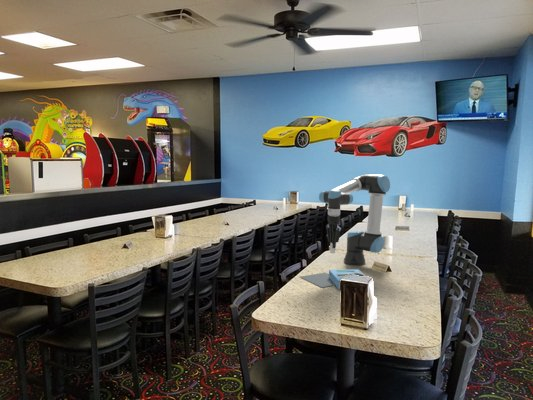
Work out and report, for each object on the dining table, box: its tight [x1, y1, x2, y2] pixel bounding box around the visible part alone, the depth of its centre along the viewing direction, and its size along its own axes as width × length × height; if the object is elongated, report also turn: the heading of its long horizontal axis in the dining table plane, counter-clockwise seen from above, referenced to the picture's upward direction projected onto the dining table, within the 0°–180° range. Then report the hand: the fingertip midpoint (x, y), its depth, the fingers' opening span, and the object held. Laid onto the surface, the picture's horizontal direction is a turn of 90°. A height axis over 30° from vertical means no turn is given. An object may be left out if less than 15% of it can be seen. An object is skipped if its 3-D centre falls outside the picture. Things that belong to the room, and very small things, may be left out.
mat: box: [299, 272, 335, 289], centre depth 236 cm, size 20×23×1 cm
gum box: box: [328, 269, 366, 291], centre depth 229 cm, size 20×5×23 cm
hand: (332, 252), depth 237 cm, fingers closed
